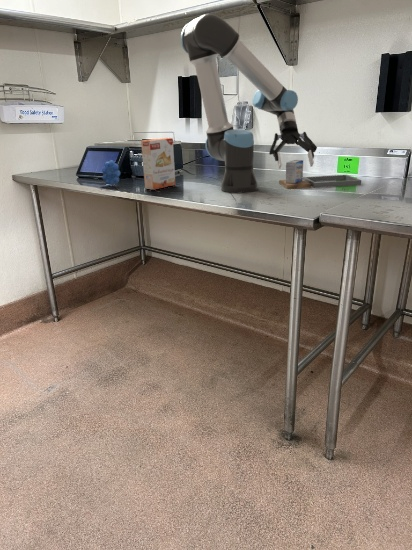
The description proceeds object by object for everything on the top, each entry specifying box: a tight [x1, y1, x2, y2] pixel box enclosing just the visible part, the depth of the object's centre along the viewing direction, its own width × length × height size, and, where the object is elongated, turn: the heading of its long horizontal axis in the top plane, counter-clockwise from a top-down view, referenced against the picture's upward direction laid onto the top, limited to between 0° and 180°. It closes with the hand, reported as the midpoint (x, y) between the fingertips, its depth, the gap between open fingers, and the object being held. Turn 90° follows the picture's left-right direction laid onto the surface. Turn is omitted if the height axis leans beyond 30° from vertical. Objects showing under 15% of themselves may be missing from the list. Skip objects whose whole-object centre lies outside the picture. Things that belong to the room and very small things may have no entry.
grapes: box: [101, 159, 121, 185], centre depth 190 cm, size 12×7×12 cm, turn 54°
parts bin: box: [303, 174, 362, 189], centre depth 176 cm, size 20×15×2 cm
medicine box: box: [285, 159, 304, 184], centre depth 173 cm, size 8×4×9 cm, turn 145°
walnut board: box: [278, 179, 312, 190], centre depth 175 cm, size 10×13×2 cm
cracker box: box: [140, 137, 176, 189], centre depth 179 cm, size 14×6×21 cm, turn 141°
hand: (296, 165), depth 172 cm, fingers open, 13 cm apart
